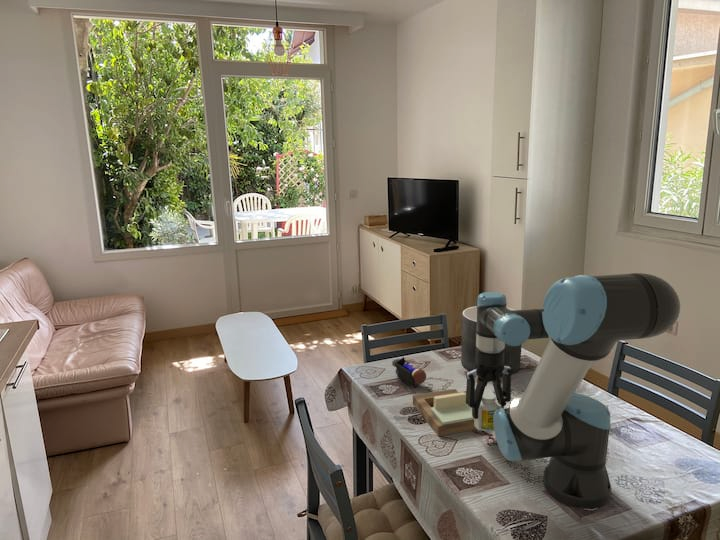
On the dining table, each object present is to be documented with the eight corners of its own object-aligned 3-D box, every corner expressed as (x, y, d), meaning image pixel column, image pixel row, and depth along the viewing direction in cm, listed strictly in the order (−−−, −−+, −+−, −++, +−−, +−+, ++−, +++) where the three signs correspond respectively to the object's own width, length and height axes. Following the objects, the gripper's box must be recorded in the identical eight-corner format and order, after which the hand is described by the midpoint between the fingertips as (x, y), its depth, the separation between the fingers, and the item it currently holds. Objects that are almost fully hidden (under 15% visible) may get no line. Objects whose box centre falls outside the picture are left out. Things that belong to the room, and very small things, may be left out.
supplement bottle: (486, 420, 149) (487, 390, 147) (501, 428, 144) (502, 396, 142) (473, 426, 146) (474, 394, 144) (487, 434, 141) (489, 402, 139)
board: (484, 427, 152) (485, 418, 151) (438, 436, 148) (438, 426, 147) (454, 397, 171) (455, 388, 170) (412, 403, 167) (412, 395, 166)
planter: (510, 382, 181) (513, 328, 176) (451, 368, 193) (453, 317, 188) (527, 360, 199) (530, 311, 194) (473, 349, 211) (475, 302, 206)
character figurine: (404, 372, 191) (428, 388, 178) (387, 375, 187) (410, 392, 174) (406, 352, 189) (430, 367, 176) (389, 355, 186) (412, 370, 173)
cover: (480, 418, 151) (480, 405, 150) (442, 424, 148) (443, 411, 147) (466, 404, 159) (466, 391, 158) (430, 409, 156) (430, 397, 155)
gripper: (512, 340, 146) (509, 415, 151) (453, 347, 141) (451, 425, 146) (527, 349, 139) (523, 427, 144) (465, 357, 134) (463, 438, 139)
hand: (487, 426), depth 145 cm, fingers closed on supplement bottle, 5 cm apart
